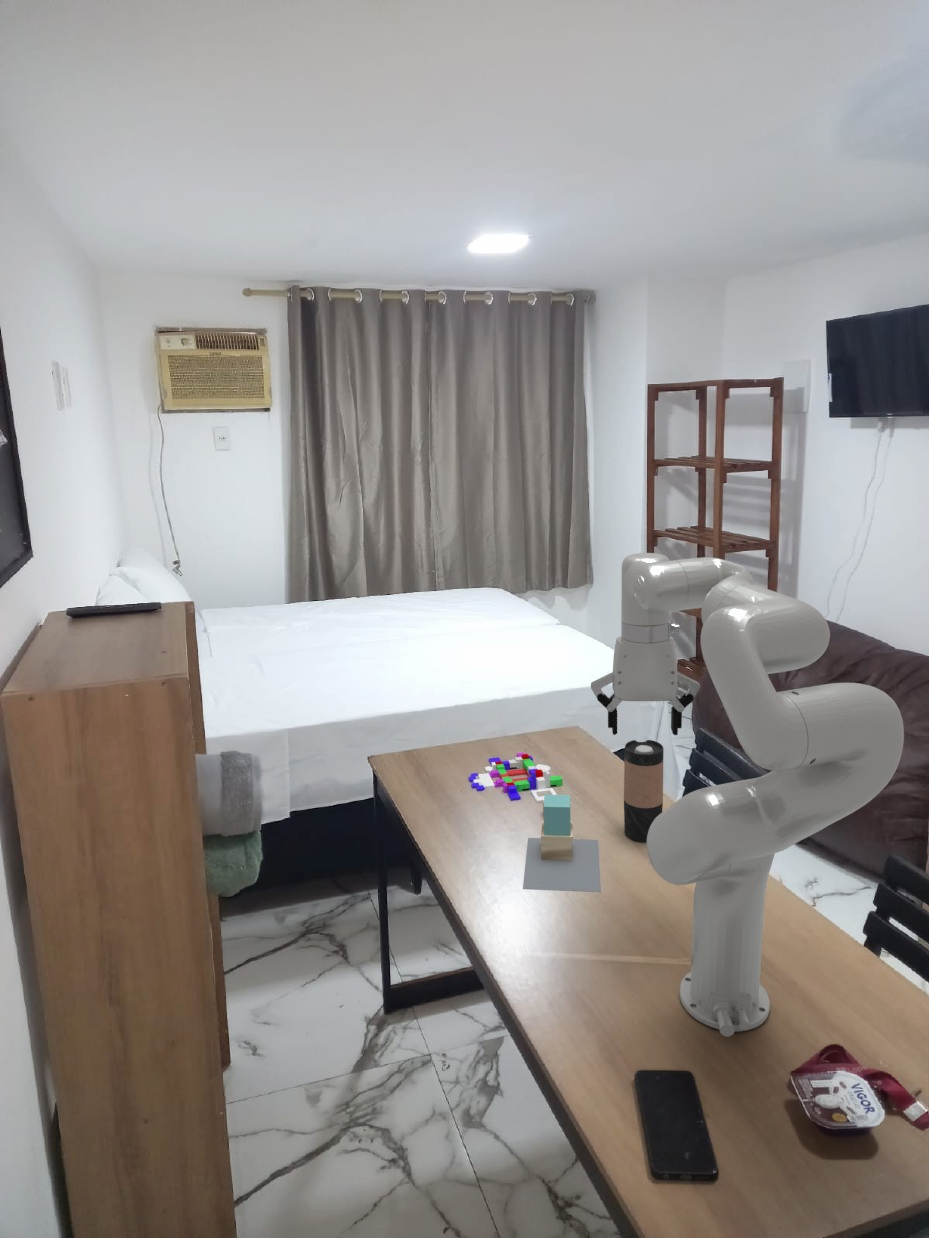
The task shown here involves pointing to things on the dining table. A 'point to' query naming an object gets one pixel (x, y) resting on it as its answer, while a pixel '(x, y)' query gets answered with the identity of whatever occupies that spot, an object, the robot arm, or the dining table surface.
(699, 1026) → the dining table surface
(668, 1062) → the dining table surface
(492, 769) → the building block set
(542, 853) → the beech block
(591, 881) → the build board
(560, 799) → the teal block
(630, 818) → the travel mug
